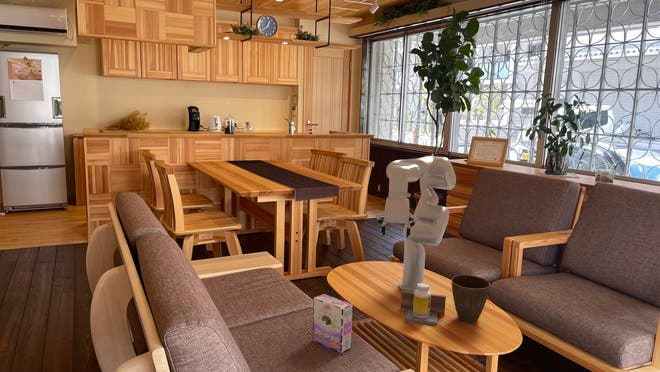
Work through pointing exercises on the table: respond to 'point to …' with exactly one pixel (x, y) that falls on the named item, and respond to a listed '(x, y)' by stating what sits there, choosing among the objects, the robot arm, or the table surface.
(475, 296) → the plant pot
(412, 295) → the walnut screen
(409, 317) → the slate mat
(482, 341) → the table surface
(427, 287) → the supplement bottle
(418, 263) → the robot arm
